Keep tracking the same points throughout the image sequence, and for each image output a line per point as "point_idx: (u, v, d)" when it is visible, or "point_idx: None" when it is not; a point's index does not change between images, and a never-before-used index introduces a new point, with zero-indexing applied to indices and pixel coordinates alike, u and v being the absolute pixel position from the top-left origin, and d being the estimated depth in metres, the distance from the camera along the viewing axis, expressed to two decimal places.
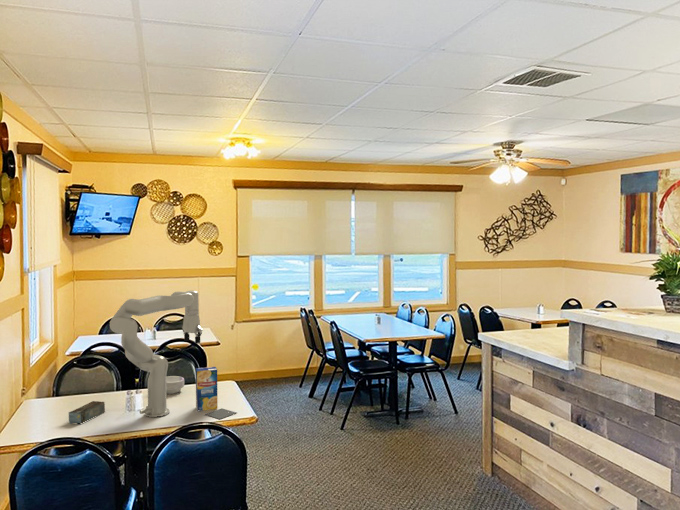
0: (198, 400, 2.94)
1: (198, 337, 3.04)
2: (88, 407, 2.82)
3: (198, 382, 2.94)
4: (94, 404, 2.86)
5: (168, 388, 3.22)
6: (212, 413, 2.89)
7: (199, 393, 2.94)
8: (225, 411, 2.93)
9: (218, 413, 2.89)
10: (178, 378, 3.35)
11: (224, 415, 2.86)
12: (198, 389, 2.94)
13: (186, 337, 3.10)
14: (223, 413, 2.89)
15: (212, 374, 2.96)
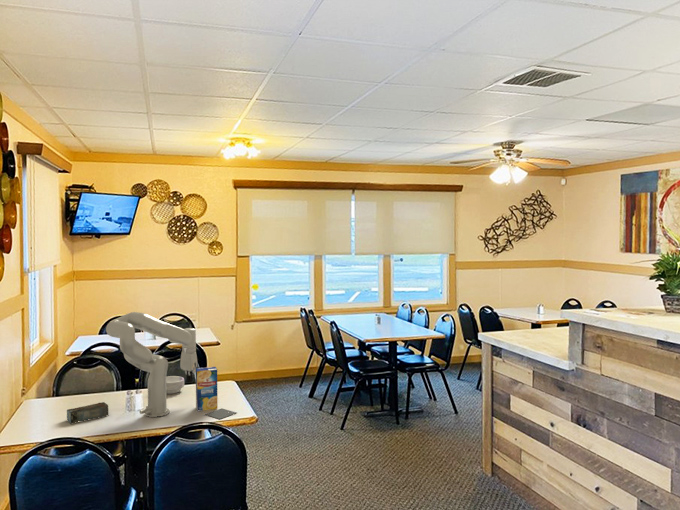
0: (198, 400, 2.94)
1: (190, 376, 3.06)
2: (87, 408, 2.81)
3: (198, 382, 2.94)
4: (96, 406, 2.83)
5: (168, 388, 3.22)
6: (212, 413, 2.89)
7: (199, 393, 2.94)
8: (225, 411, 2.93)
9: (218, 413, 2.89)
10: (178, 378, 3.35)
11: (224, 415, 2.86)
12: (198, 389, 2.94)
13: None
14: (223, 413, 2.89)
15: (212, 374, 2.96)
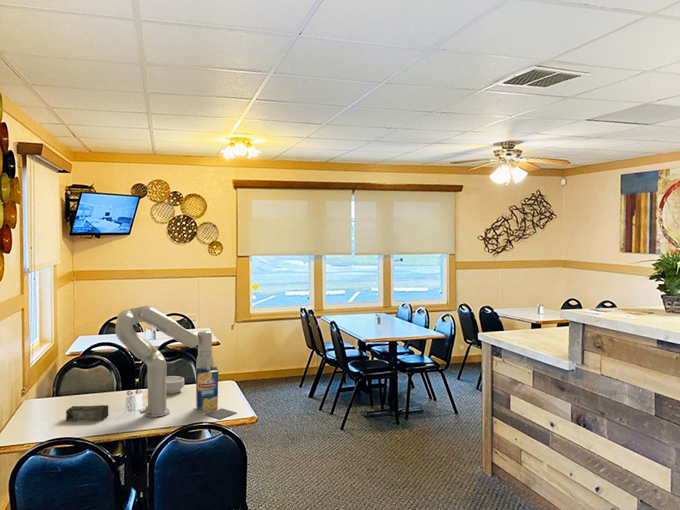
0: (198, 401, 2.93)
1: None
2: (85, 408, 2.80)
3: (199, 384, 2.91)
4: (93, 408, 2.80)
5: (168, 388, 3.22)
6: (212, 413, 2.89)
7: (199, 394, 2.92)
8: (225, 411, 2.93)
9: (218, 413, 2.89)
10: (178, 378, 3.35)
11: (224, 415, 2.86)
12: (199, 390, 2.92)
13: None
14: (223, 413, 2.89)
15: (213, 376, 2.93)
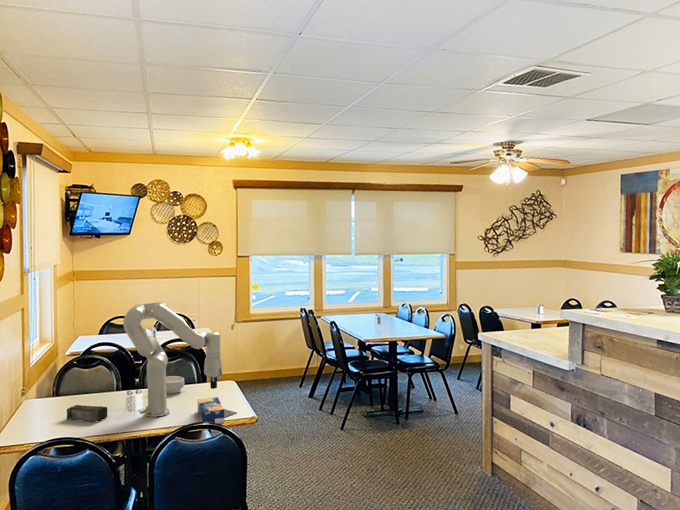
0: None
1: (215, 382, 2.94)
2: (84, 408, 2.80)
3: None
4: (91, 408, 2.79)
5: (168, 388, 3.22)
6: None
7: None
8: (225, 411, 2.93)
9: None
10: (178, 378, 3.35)
11: (224, 415, 2.86)
12: None
13: None
14: None
15: None
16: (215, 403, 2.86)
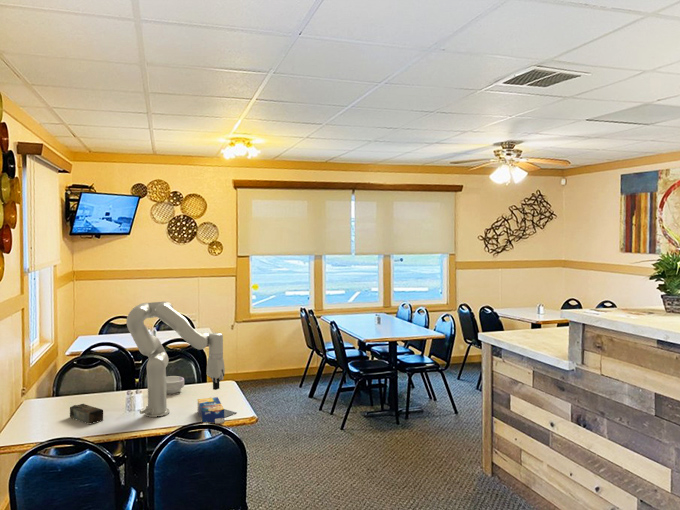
0: None
1: (217, 383, 2.93)
2: (83, 408, 2.80)
3: None
4: (87, 409, 2.77)
5: (168, 388, 3.22)
6: None
7: None
8: (225, 411, 2.93)
9: None
10: (178, 378, 3.35)
11: (224, 415, 2.86)
12: None
13: None
14: None
15: None
16: (215, 403, 2.86)
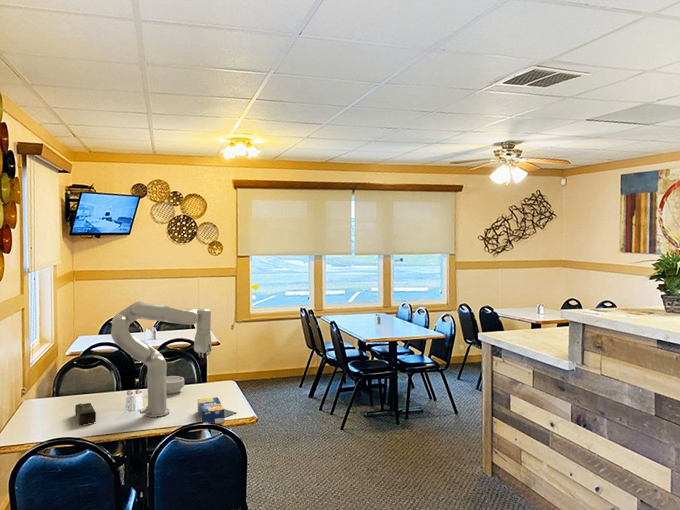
0: None
1: (204, 358, 2.98)
2: (82, 408, 2.80)
3: None
4: (82, 410, 2.77)
5: (168, 388, 3.22)
6: None
7: None
8: (225, 411, 2.93)
9: None
10: (178, 378, 3.35)
11: (224, 415, 2.86)
12: None
13: None
14: None
15: None
16: (215, 403, 2.86)
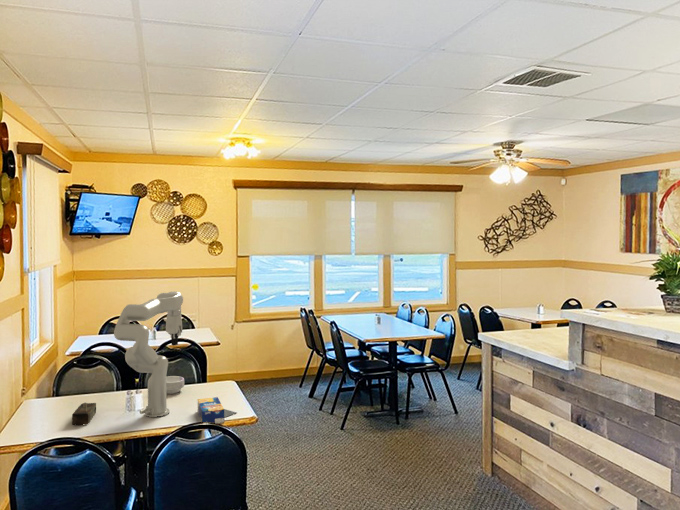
0: None
1: (175, 339, 3.07)
2: (81, 408, 2.81)
3: None
4: (79, 410, 2.77)
5: (168, 388, 3.22)
6: None
7: None
8: (225, 411, 2.93)
9: None
10: (178, 378, 3.35)
11: (224, 415, 2.86)
12: None
13: None
14: None
15: None
16: (215, 403, 2.86)
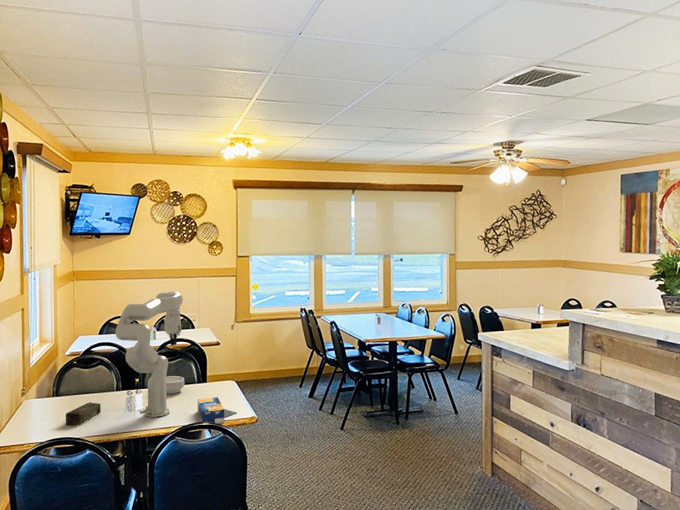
0: None
1: (174, 339, 3.08)
2: (82, 407, 2.81)
3: None
4: (76, 409, 2.77)
5: (168, 388, 3.22)
6: None
7: None
8: (225, 411, 2.93)
9: None
10: (178, 378, 3.35)
11: (224, 415, 2.86)
12: None
13: None
14: None
15: None
16: (215, 403, 2.86)
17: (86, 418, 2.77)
